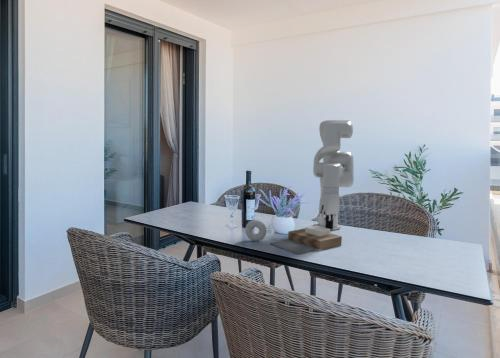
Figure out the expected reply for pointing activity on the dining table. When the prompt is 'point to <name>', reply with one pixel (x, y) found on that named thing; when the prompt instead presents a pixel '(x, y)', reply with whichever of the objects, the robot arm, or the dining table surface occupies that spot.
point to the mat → (293, 246)
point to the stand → (315, 239)
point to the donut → (260, 226)
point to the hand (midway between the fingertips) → (329, 228)
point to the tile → (317, 230)
